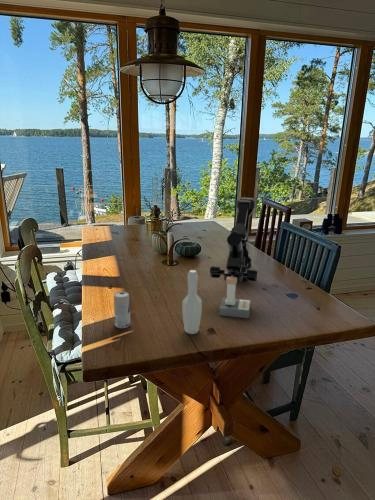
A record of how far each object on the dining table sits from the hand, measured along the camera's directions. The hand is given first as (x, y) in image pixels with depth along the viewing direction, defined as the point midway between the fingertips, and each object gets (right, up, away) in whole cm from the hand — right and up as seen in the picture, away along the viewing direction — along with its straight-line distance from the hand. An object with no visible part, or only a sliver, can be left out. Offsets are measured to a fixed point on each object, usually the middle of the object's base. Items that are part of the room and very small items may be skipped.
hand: (231, 293), depth 140 cm
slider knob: (0, -4, -1) cm, 4 cm away
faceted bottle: (-16, -11, -15) cm, 25 cm away
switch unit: (+2, -7, 0) cm, 7 cm away
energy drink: (-40, -10, -12) cm, 43 cm away
